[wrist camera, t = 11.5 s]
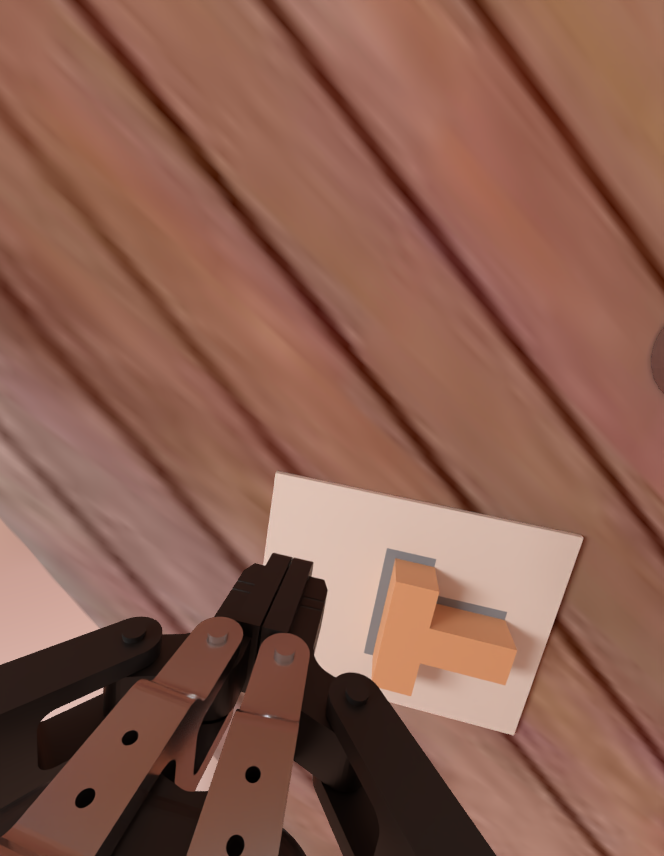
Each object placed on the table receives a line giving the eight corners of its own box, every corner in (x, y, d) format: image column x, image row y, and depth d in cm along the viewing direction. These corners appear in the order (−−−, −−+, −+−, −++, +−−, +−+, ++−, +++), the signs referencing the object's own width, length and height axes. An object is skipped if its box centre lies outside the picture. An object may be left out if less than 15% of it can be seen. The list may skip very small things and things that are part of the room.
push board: (580, 534, 37) (583, 537, 36) (512, 730, 43) (513, 735, 42) (277, 470, 40) (275, 472, 40) (251, 660, 46) (249, 664, 45)
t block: (516, 586, 38) (529, 613, 35) (484, 683, 41) (494, 718, 37) (395, 558, 40) (395, 581, 36) (372, 654, 42) (371, 685, 39)
